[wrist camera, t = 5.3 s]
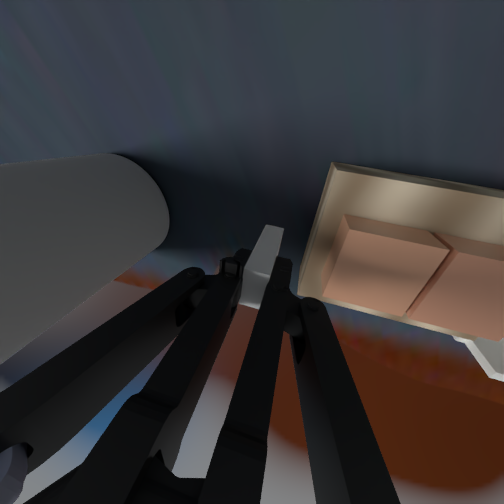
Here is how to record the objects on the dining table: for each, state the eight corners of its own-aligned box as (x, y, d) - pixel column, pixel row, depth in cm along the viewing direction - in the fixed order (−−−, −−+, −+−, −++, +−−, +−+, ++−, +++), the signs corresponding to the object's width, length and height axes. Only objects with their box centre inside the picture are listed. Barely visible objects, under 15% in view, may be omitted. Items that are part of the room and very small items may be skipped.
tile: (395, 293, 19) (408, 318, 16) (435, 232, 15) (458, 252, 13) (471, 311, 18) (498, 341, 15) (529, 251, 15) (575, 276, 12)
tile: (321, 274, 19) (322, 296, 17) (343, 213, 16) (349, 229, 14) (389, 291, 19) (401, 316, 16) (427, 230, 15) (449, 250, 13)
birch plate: (299, 267, 25) (297, 294, 21) (331, 161, 19) (337, 170, 15) (444, 302, 23) (474, 341, 19) (535, 195, 17) (608, 216, 13)
